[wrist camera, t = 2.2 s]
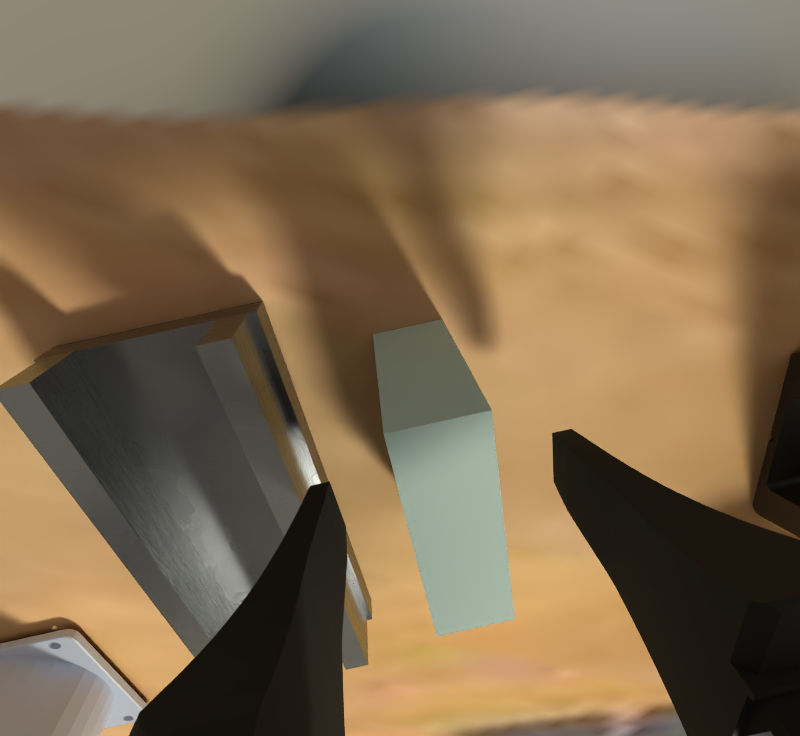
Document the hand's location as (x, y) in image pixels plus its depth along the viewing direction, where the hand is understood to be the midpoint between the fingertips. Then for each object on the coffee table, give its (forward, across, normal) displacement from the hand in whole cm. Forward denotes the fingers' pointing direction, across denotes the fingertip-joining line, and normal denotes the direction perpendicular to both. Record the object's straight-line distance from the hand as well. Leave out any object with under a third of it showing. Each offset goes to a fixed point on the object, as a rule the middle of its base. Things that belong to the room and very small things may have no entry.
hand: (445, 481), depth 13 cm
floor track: (+3, +8, +2) cm, 9 cm away
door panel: (+4, 0, 0) cm, 4 cm away
